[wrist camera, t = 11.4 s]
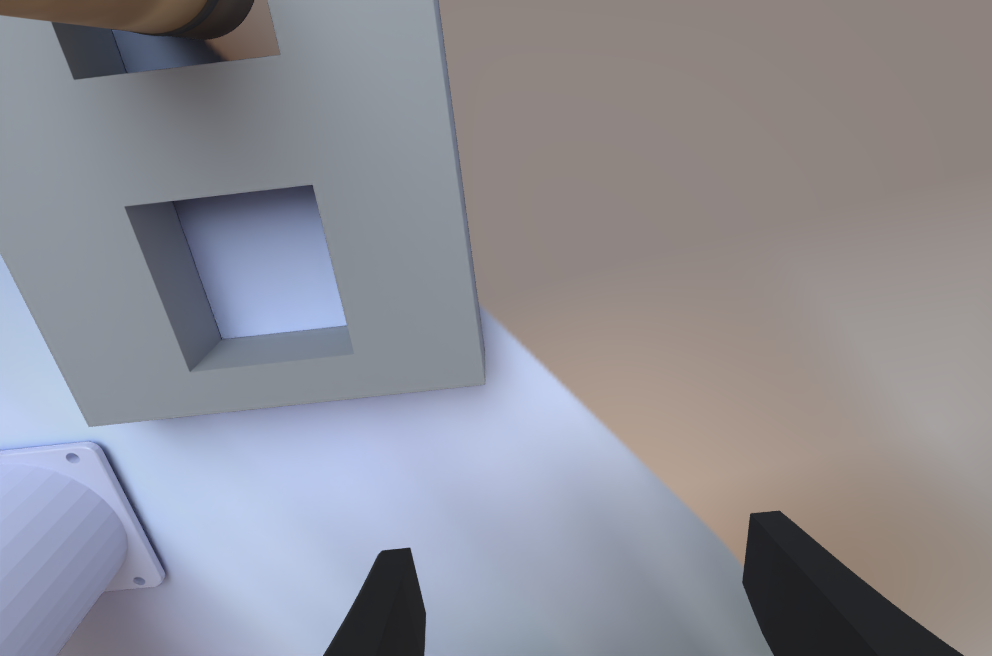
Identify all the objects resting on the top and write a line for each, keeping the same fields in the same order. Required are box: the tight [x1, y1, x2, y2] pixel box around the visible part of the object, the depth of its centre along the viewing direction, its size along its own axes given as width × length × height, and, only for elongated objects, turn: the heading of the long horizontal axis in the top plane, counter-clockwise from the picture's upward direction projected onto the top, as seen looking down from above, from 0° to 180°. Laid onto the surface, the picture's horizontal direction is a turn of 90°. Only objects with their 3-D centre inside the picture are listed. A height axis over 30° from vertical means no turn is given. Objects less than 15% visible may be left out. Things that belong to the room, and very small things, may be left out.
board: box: [0, 0, 485, 427], centre depth 16 cm, size 14×18×2 cm
